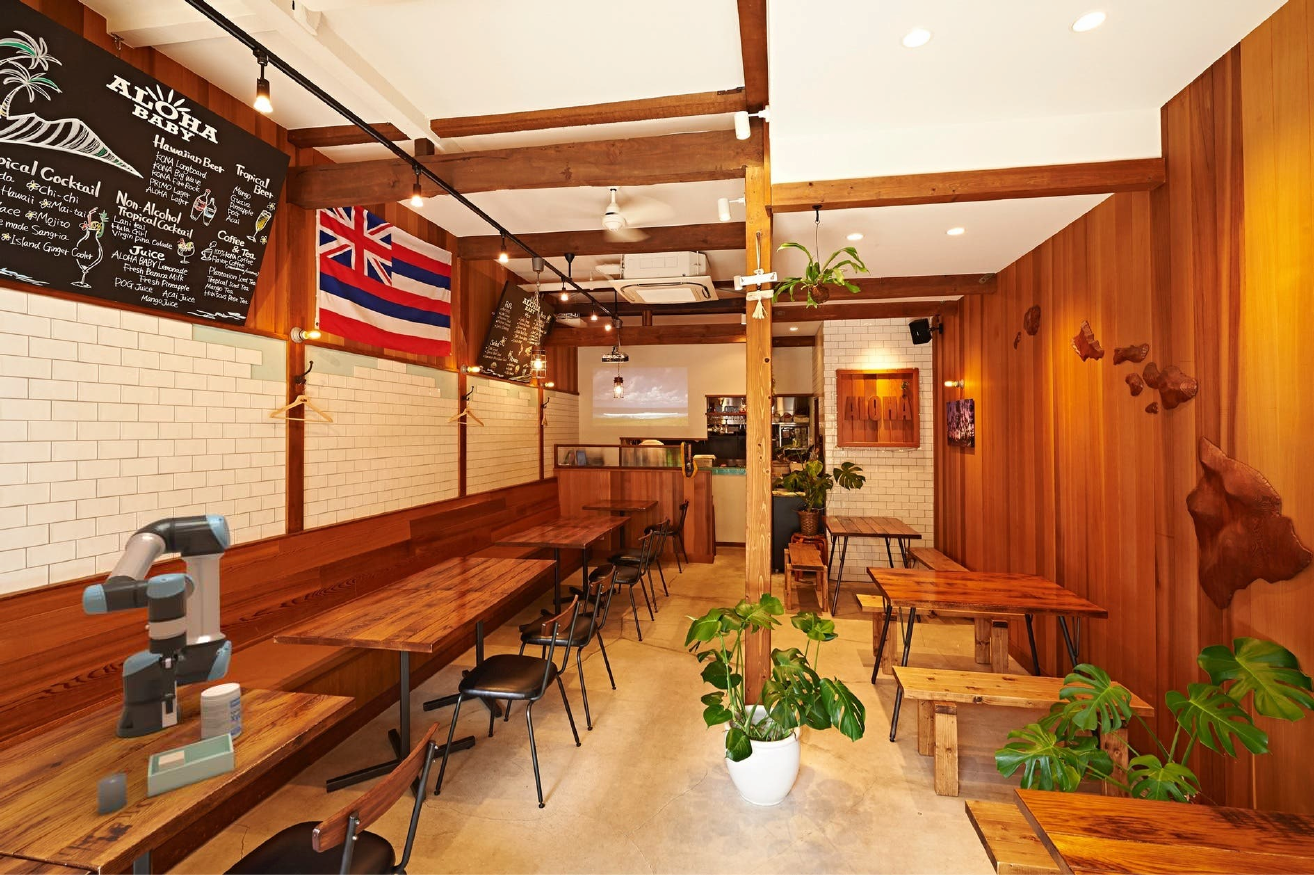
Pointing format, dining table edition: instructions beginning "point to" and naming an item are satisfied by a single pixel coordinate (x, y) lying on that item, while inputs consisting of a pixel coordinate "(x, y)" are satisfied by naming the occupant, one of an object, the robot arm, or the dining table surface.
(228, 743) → the teal tote
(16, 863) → the dining table surface
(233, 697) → the supplement tub
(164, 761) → the tan cube
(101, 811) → the charcoal cylinder
